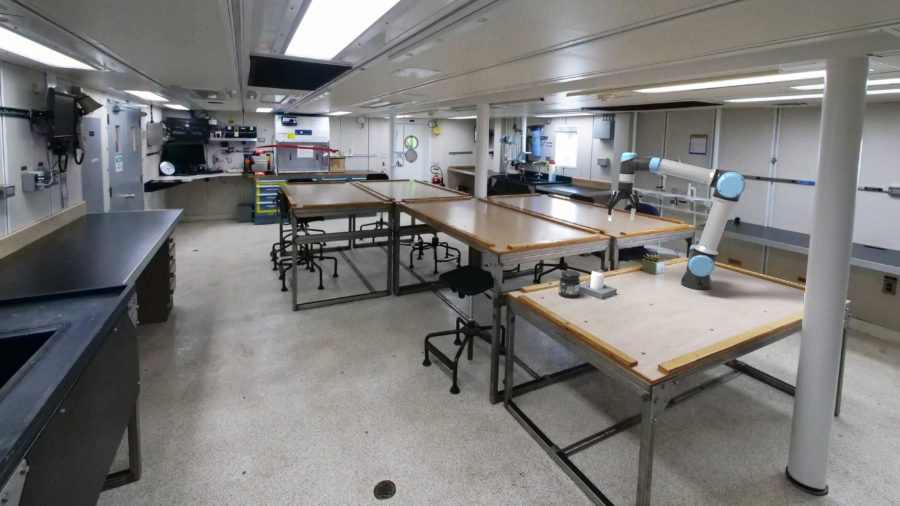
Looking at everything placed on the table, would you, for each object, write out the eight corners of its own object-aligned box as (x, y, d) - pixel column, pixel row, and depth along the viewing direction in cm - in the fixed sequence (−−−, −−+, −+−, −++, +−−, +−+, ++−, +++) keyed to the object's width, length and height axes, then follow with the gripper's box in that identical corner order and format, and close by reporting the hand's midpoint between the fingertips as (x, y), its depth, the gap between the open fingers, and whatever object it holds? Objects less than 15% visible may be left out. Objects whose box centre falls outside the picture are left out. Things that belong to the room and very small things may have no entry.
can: (589, 293, 243) (591, 271, 240) (590, 289, 249) (592, 268, 246) (601, 295, 241) (604, 273, 238) (602, 291, 247) (605, 269, 244)
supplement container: (559, 290, 247) (561, 268, 244) (579, 293, 244) (582, 271, 240) (556, 296, 237) (558, 274, 234) (578, 299, 234) (580, 277, 231)
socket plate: (616, 294, 243) (617, 287, 242) (601, 299, 235) (602, 292, 234) (590, 285, 255) (591, 279, 254) (575, 290, 247) (576, 283, 246)
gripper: (642, 180, 256) (637, 218, 262) (601, 181, 251) (597, 219, 257) (650, 182, 249) (645, 221, 255) (609, 182, 244) (604, 222, 249)
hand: (621, 220), depth 256 cm, fingers open, 13 cm apart
